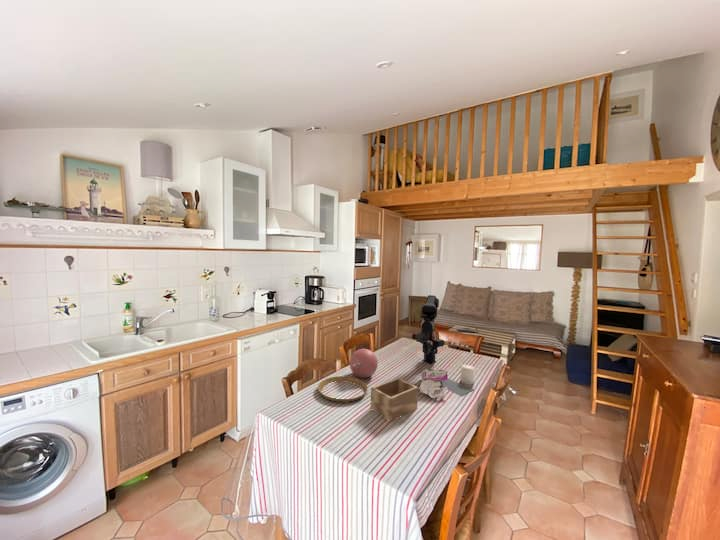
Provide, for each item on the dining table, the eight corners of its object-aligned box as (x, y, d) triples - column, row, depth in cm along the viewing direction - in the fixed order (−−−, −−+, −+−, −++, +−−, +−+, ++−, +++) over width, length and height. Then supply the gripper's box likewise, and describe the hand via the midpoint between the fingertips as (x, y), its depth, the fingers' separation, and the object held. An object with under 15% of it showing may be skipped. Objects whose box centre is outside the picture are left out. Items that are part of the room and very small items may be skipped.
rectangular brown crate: (370, 409, 131) (371, 387, 130) (397, 398, 142) (398, 377, 141) (390, 422, 122) (390, 398, 121) (417, 409, 133) (418, 387, 132)
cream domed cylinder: (457, 381, 163) (458, 366, 162) (464, 377, 167) (465, 363, 167) (469, 385, 158) (470, 371, 157) (476, 382, 162) (477, 367, 162)
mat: (427, 385, 156) (427, 385, 156) (445, 378, 166) (445, 377, 166) (456, 399, 143) (456, 398, 143) (474, 389, 153) (474, 389, 153)
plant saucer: (374, 388, 152) (374, 382, 152) (354, 411, 130) (354, 403, 130) (333, 378, 162) (333, 372, 162) (307, 398, 140) (308, 391, 140)
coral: (415, 381, 147) (434, 374, 151) (415, 393, 149) (434, 385, 153) (429, 397, 136) (450, 388, 141) (430, 409, 138) (450, 400, 143)
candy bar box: (421, 381, 162) (424, 379, 147) (421, 371, 164) (424, 368, 149) (442, 382, 161) (448, 380, 146) (442, 372, 163) (447, 369, 148)
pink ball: (338, 380, 159) (339, 352, 158) (359, 368, 176) (360, 343, 174) (363, 388, 150) (363, 359, 149) (382, 375, 167) (383, 348, 166)
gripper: (406, 325, 169) (405, 352, 170) (433, 333, 155) (431, 362, 156) (418, 322, 176) (417, 348, 177) (445, 330, 162) (444, 358, 163)
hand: (427, 354), depth 168 cm, fingers closed
